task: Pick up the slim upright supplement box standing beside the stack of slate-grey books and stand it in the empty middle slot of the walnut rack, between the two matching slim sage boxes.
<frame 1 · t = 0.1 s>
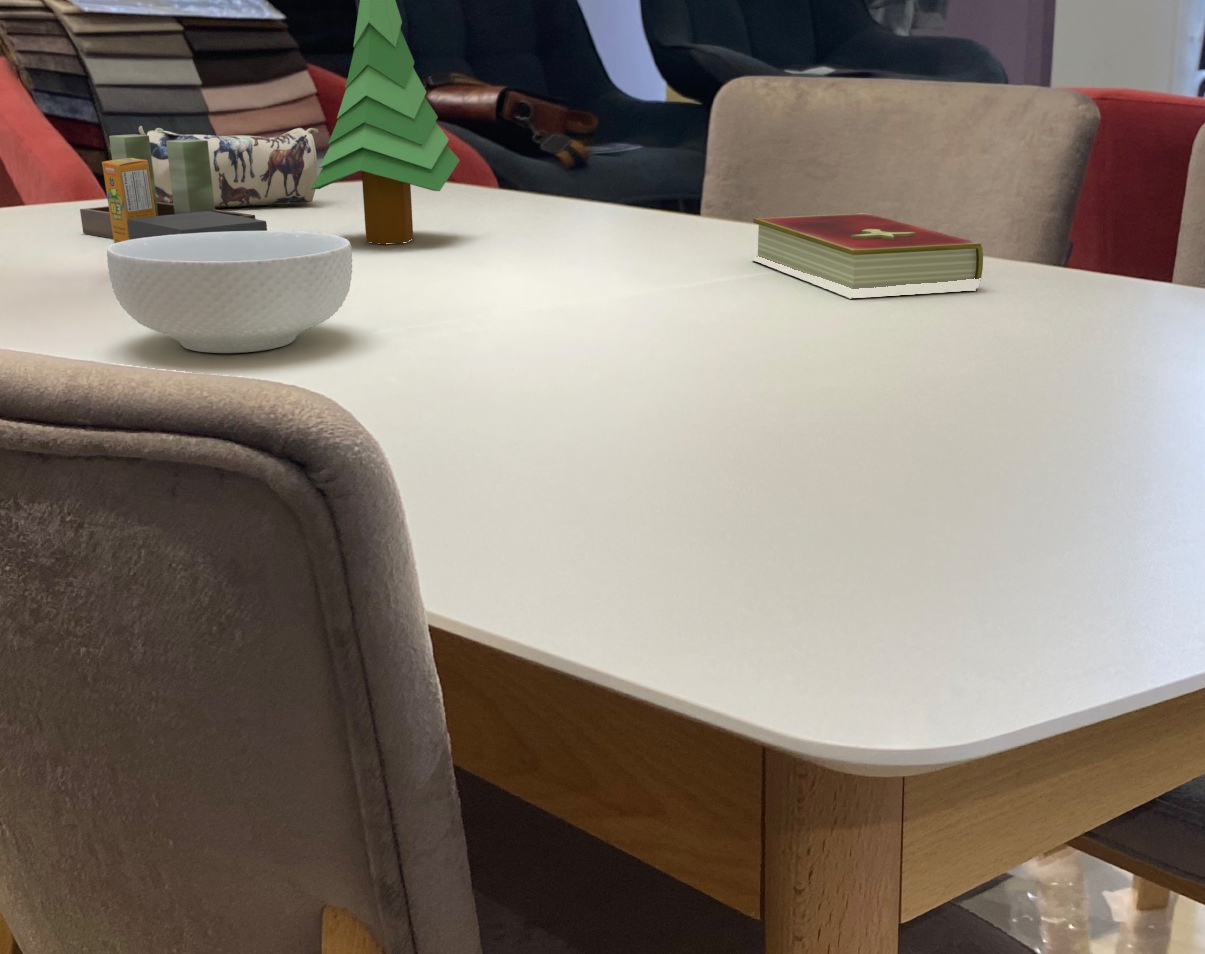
hardcover book: (859, 277, 129), on the table
pencil case: (234, 208, 179), on the table
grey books: (205, 282, 128), on the table
supplement box: (140, 275, 133), on the table
cereal bowl: (240, 345, 104), on the table
book rack: (168, 236, 155), on the table
decorative tree: (390, 243, 151), on the table
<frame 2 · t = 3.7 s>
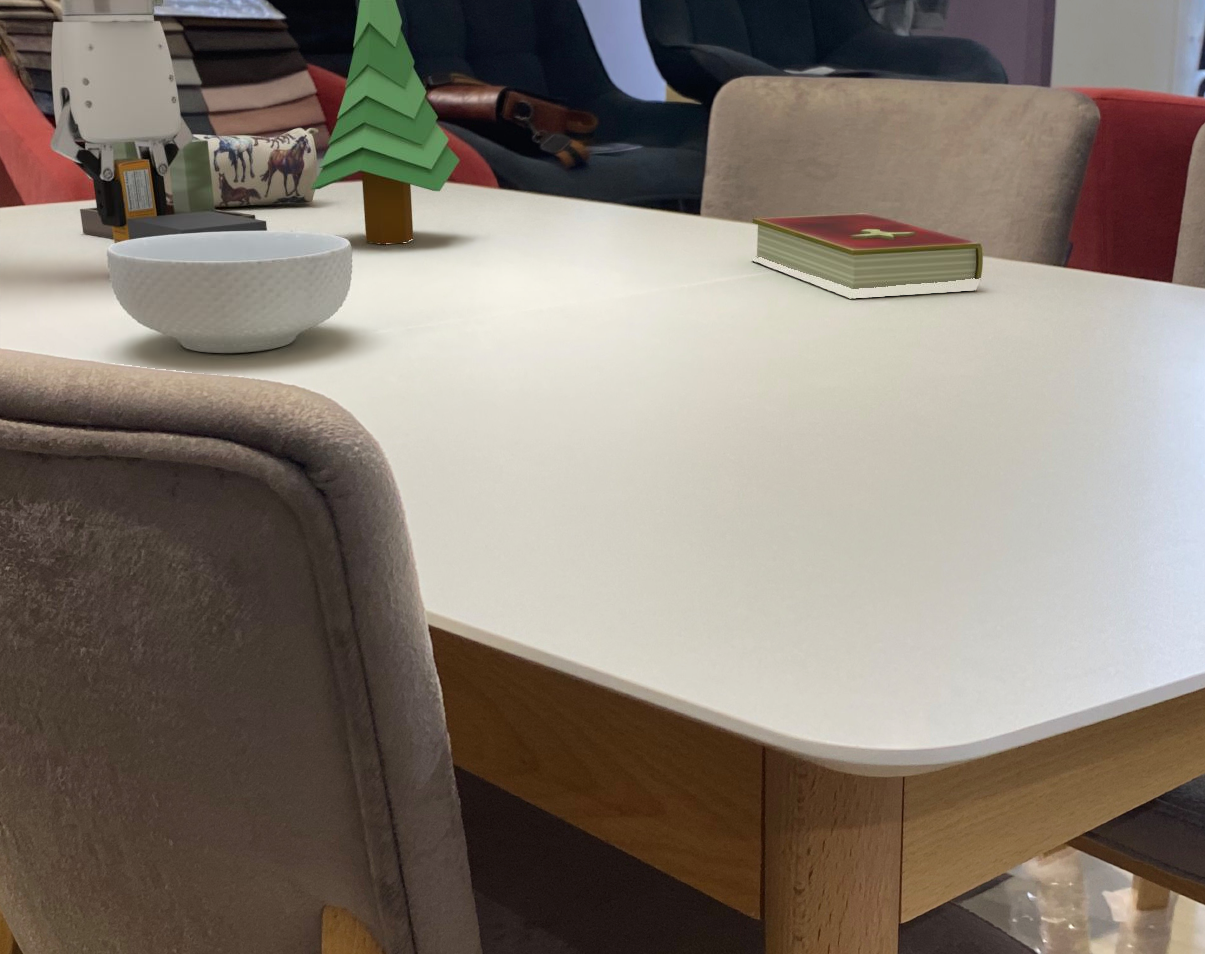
hand: (134, 221, 131), 5 cm above the table, tool pointing down, fingers closed on supplement box, 3 cm apart
supplement box: (140, 275, 133), on the table, touching gripper
everything else where it was.
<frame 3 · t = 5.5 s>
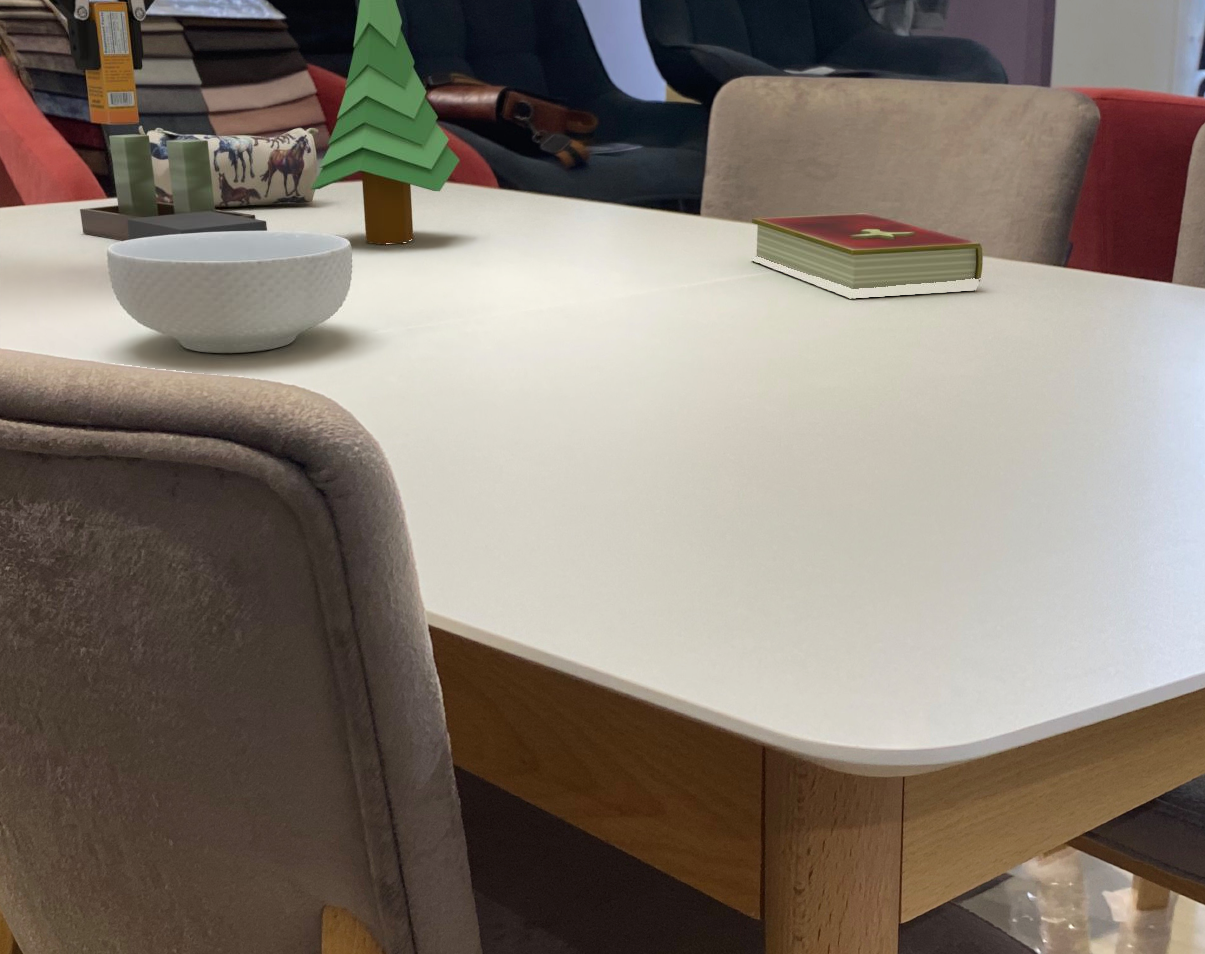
hand: (109, 67, 126), 18 cm above the table, tool pointing down, fingers closed on supplement box, 3 cm apart
supplement box: (113, 125, 128), point 13 cm above the table, touching gripper
everything else where it was.
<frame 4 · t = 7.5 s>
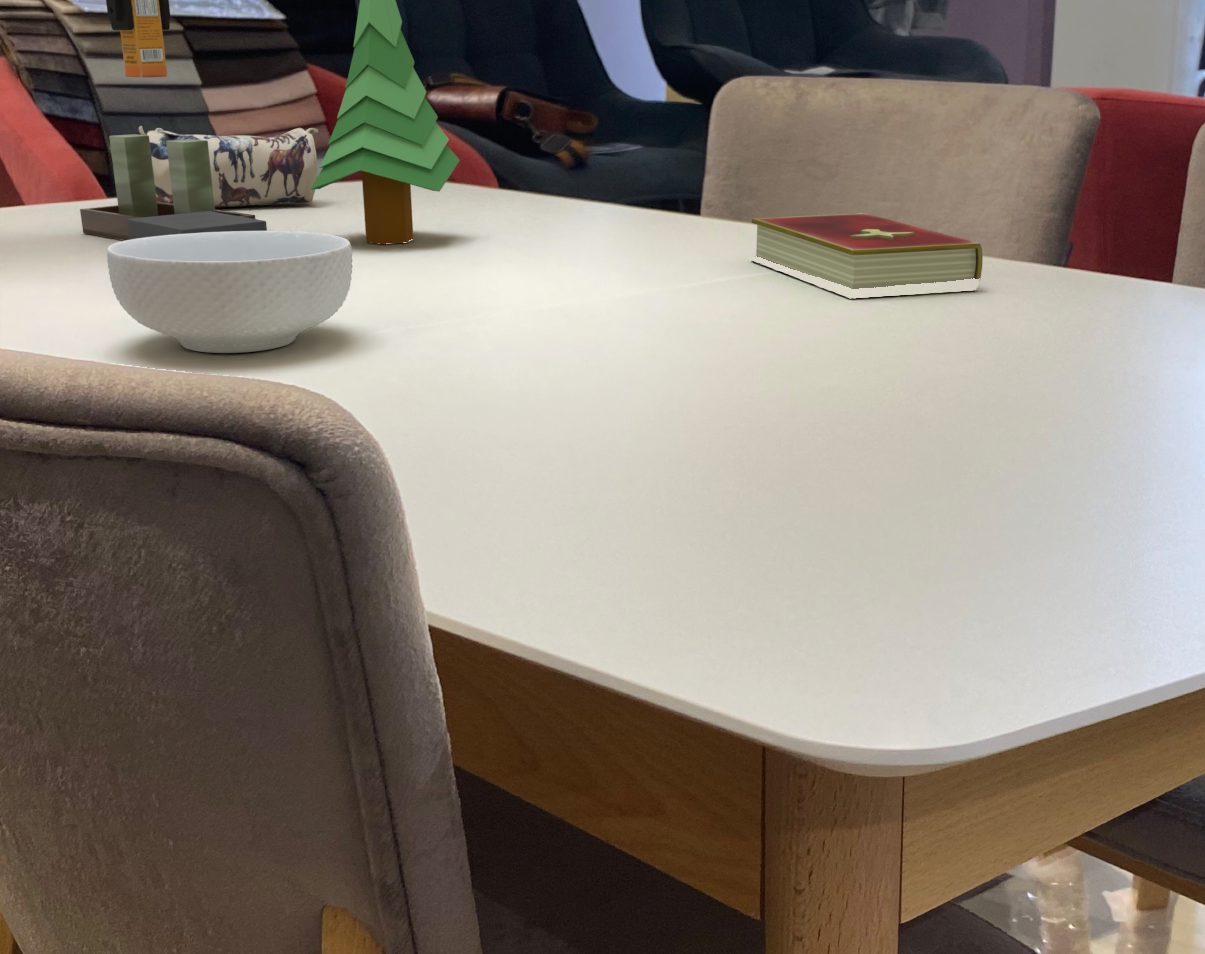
hand: (140, 28, 145), 21 cm above the table, tool pointing down, fingers closed on supplement box, 3 cm apart
supplement box: (145, 79, 146), point 16 cm above the table, touching gripper
everything else where it was.
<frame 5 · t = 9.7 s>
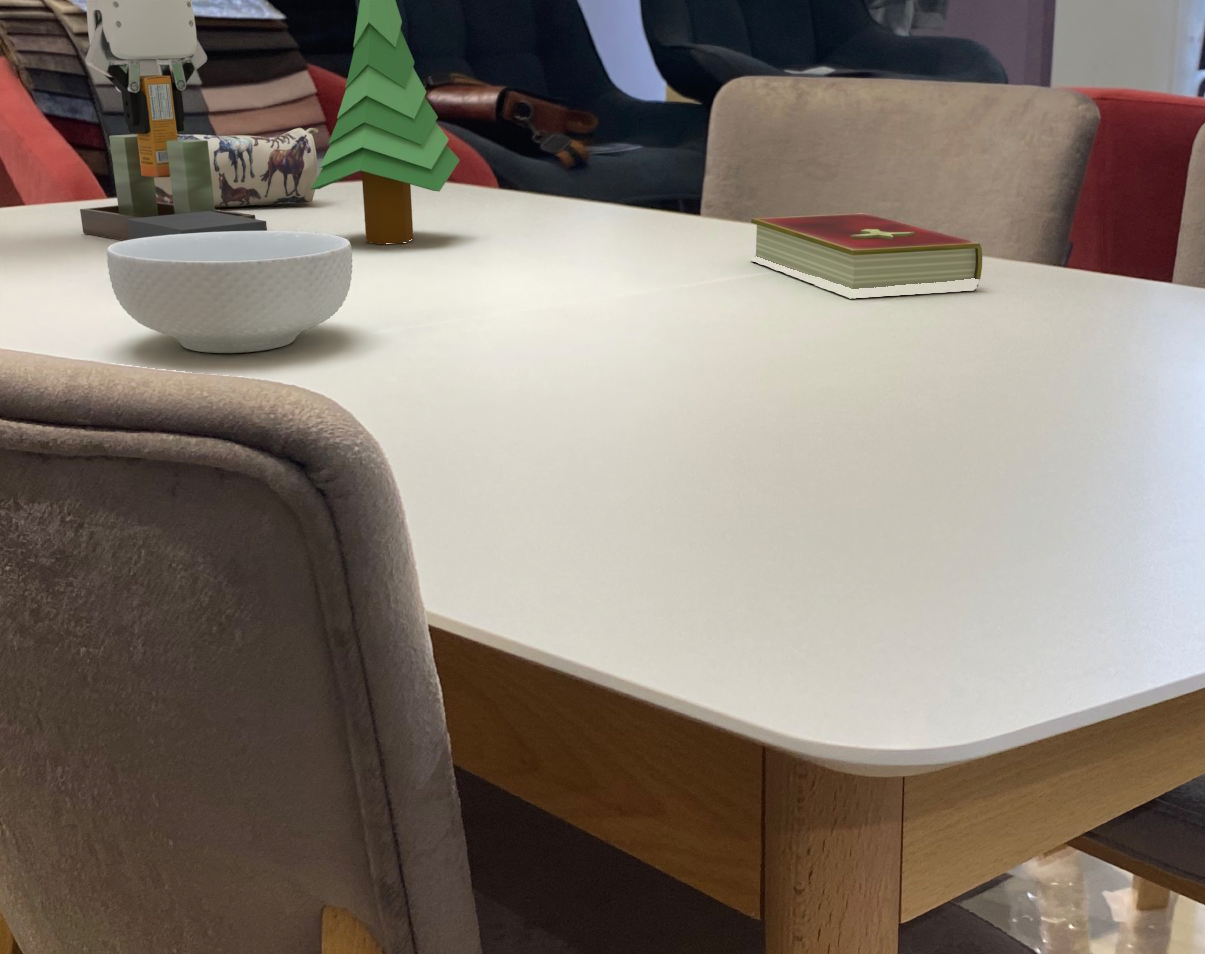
hand: (156, 130, 151), 11 cm above the table, tool pointing down, fingers closed on supplement box, 3 cm apart
supplement box: (160, 178, 152), point 6 cm above the table, touching gripper
everything else where it was.
when the fingers open (5 cm above the table, at t = 11.3 s): supplement box stays where it is, resting on book rack.
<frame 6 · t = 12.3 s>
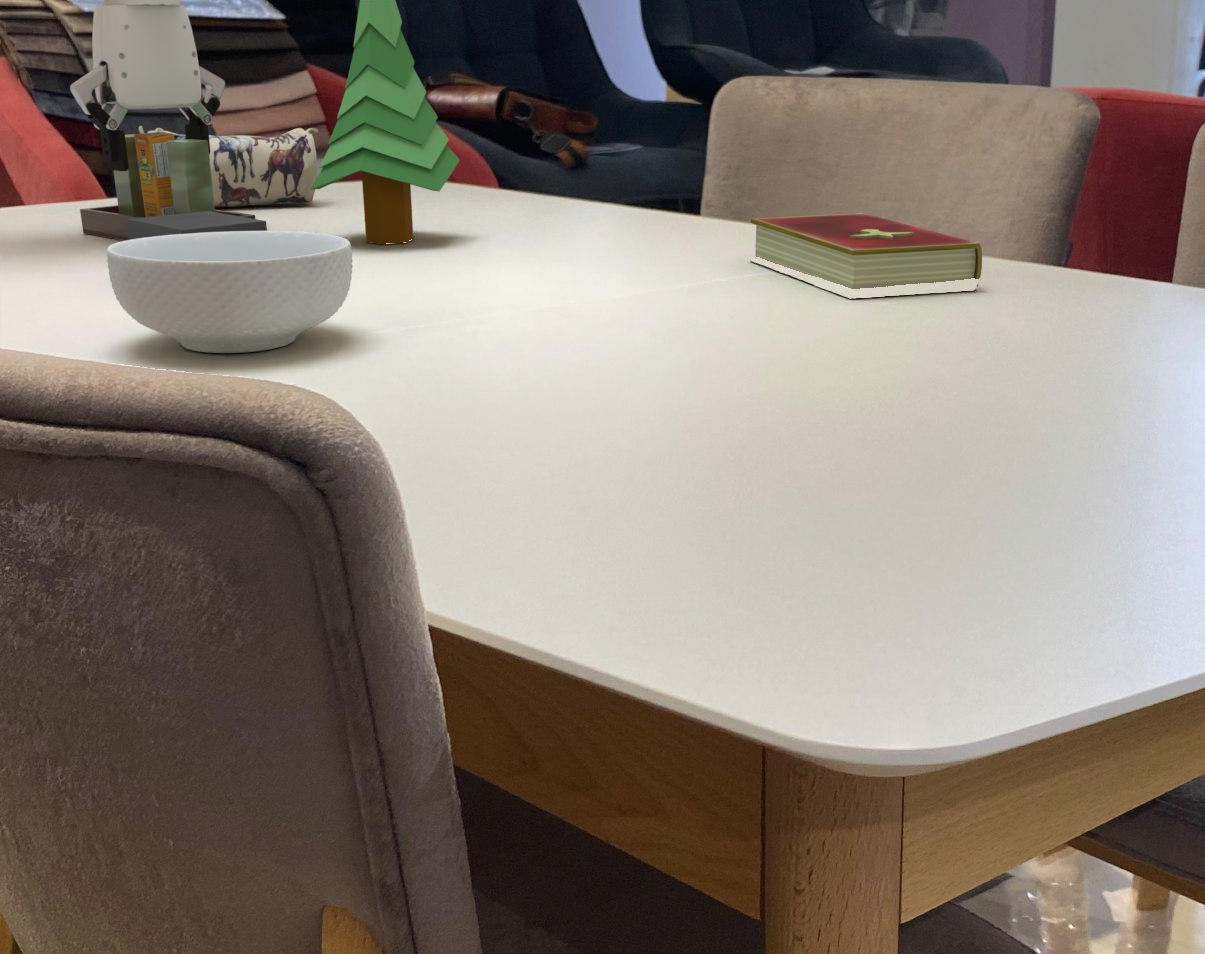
hand: (159, 166, 152), 7 cm above the table, tool pointing down, fingers open, 9 cm apart
supplement box: (166, 233, 154), resting on book rack
everything else where it was.
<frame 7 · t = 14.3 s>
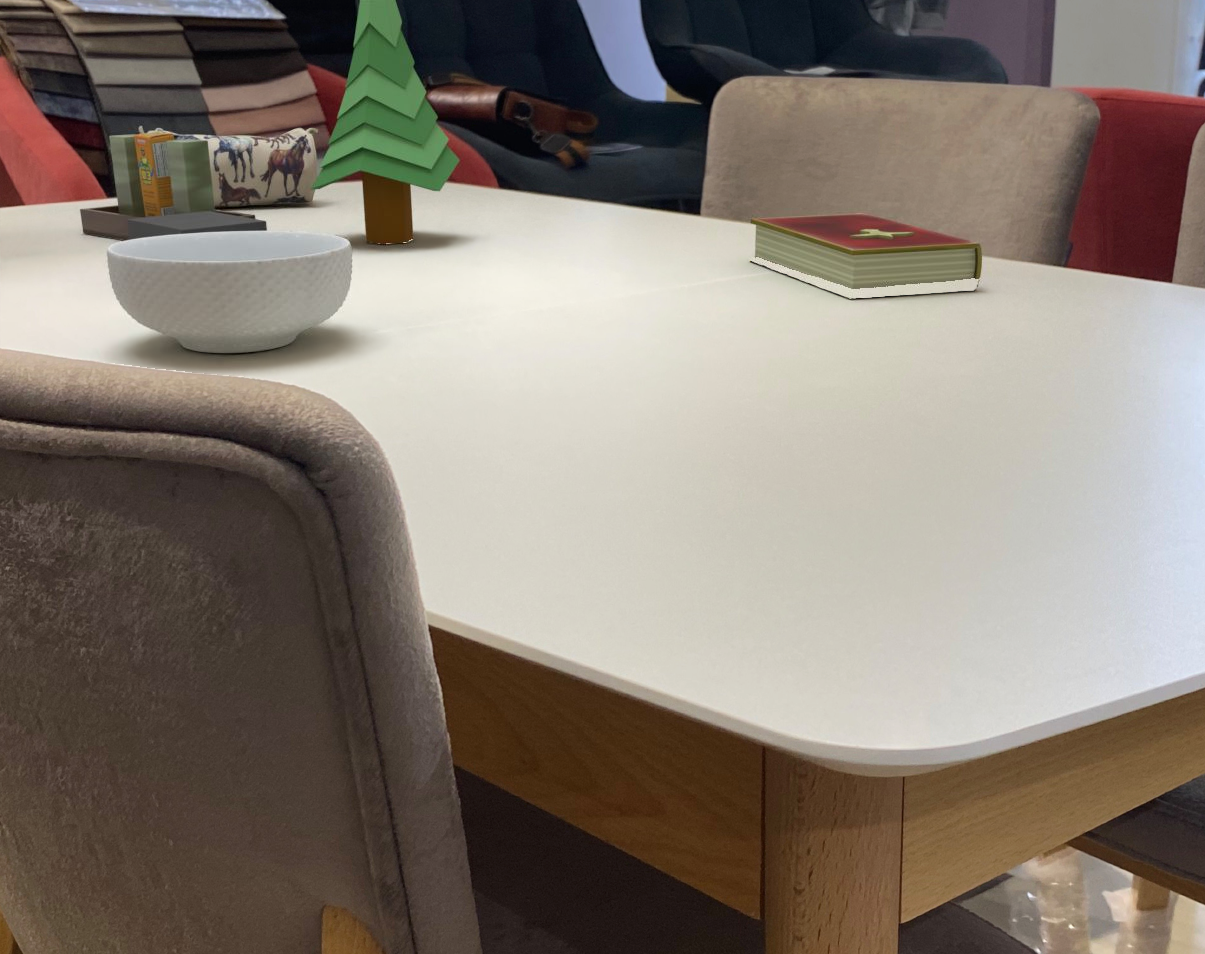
nothing on the table moved.
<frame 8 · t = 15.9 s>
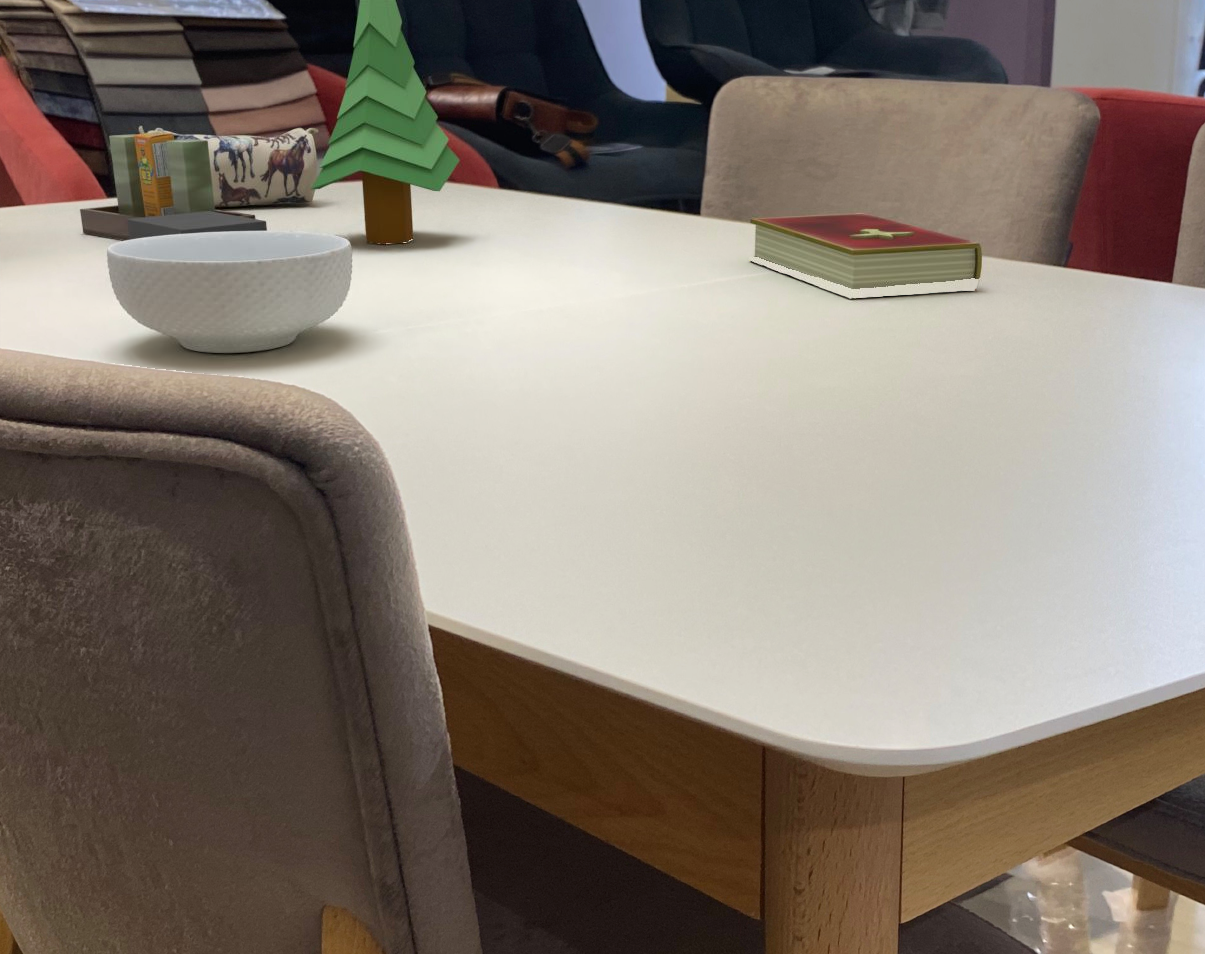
nothing on the table moved.
at the end: supplement box 0.2 cm off-centre on the book rack, point 0.4 cm above the book rack's base; supplement box tilted 0°; the gripper is holding nothing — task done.
